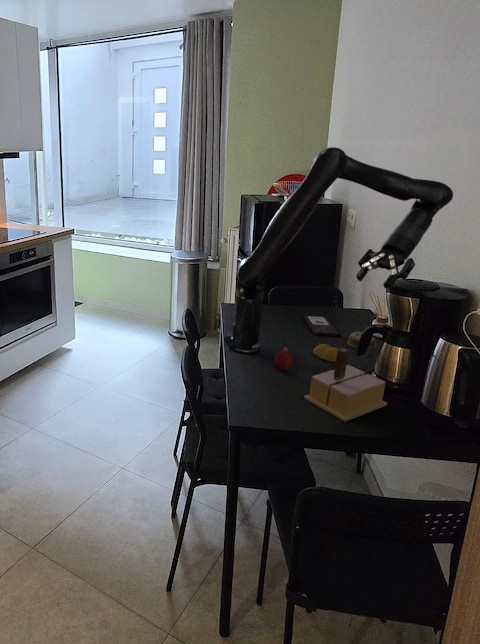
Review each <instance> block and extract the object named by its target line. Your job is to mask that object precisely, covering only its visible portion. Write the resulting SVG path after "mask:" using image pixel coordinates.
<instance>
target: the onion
mask: <svg viewBox="0 0 480 644" xmlns="http://www.w3.org/2000/svg"><path fill="white" fill-rule="evenodd" d="M273 359H274V360H273V361H274V362H273V363H274V365H275V367H276V368H277V369H279V370H280V371H281V372H285V371H286V370H288V369H290V368H292V367H293V365H294V357H293V355H292V354H291V353H290V351H288V348H287V347H284V348H283V349H282V350H279V351H278V352H277V353H275V356H274V358H273Z"/></svg>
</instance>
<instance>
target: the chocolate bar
mask: <svg viewBox="0 0 480 644" xmlns="http://www.w3.org/2000/svg"><path fill="white" fill-rule="evenodd" d="M303 319H304V321H305V322H306V324H307V326H308V327H309V328H310V330H311V331H312V333H313V334H314V335H315V336H328V337H329V336H330V337H340V332H339V331H338V330H337V329H336V328H335V326H334V325H333V323H332V322H331V321H330V319H329V318H328V317H327V316H312V315H311V316H310V315H308V316H306V315H304V316H303Z"/></svg>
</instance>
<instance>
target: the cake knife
mask: <svg viewBox="0 0 480 644" xmlns="http://www.w3.org/2000/svg"><path fill="white" fill-rule="evenodd" d="M338 349H339V350H338V351H337V357H336V361H335V365H334V369H335V370H334V369H333V370H334V380H336V381H335V382H334V385H336V384H339V383H342V380H341V379H344V377H345V371H346V366H347V365H348V358H349V353H350V352H349V349H346V348H344V347H343V348H338ZM338 380H339V381H338Z"/></svg>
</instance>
